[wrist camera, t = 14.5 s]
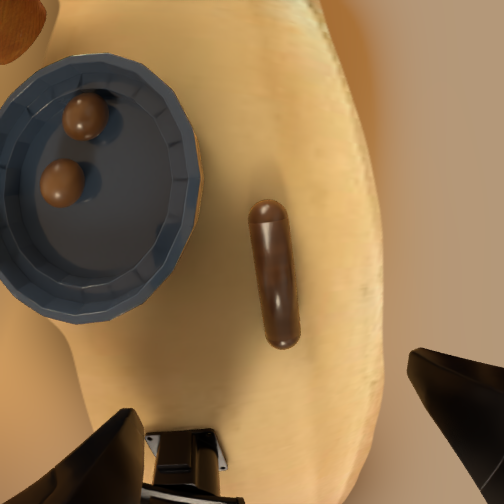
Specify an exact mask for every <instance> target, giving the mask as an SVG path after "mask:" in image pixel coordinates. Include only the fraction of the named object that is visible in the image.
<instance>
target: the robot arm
mask: <svg viewBox="0 0 504 504" xmlns="http://www.w3.org/2000/svg"><path fill="white" fill-rule="evenodd" d="M407 375H408V378H409V379H410V381H411V383H412V385H413V387H414V388H415V390H416V392H417V394H418V396H419V397H420V399H421V401H422V403H423V405H424V407H425V408H426V410H427V411H428V413H429V414H430V416H431V417H432V418H433V420H434V422H435V423H436V424H437V426H438V427H439V429H440V430H441V432H442V433H443V435H444V436H445V438H446V439H447V440H448V442H449V443H450V445H451V447H452V448H453V449H454V451H455V453H456V454H457V456H458V457H459V459H460V460H461V461H462V463H463V465H464V466H465V468H466V469H467V471H468V473H469V474H470V475H471V477H472V479H473V480H474V482H475V484H476V485H477V487H478V488H479V490H481V491H480V492H481V494H482V495H483V497H484V498H485V500H486V502H487V503H488V504H504V368H502V367H498V366H493V365H489V364H485V363H481V362H476V361H472V360H468V359H464V358H460V357H456V356H452V355H448V354H444V353H440V352H436V351H432V350H429V349H425V348H418V349H415V350H412V351H411V352H410V353H409V359H408V366H407ZM208 433H211V434H208ZM150 437H151V438H150ZM145 440H146V442H147V444H148V445H149V447H150V449H151V451H152V452H153V454H154V456H155V457H156V461H155V468H154V474H153V481H152V485H151V484H147V483H143V473H144V427H143V425H142V423H141V421H140V419H139V417H138V415H137V413H136V411H135V410H134V409H133V408H122V409H120V410H119V411H118V412H117V413H116V414H115V415H113V416H112V417H111V418H110V419H109V420H108V421H107V422H106V423H104V424H103V425H102V426H101V427H100V428H99V429H98V430H97V431H95V432H94V433H93V434H92V435H91V436H90V437H89V438H87V439H86V440H85V441H84V442H83V443H82V444H81V445H80V446H79V447H77V448H76V449H75V450H74V451H72V452H71V453H70V454H69V455H68V456H67V457H65V459H63V460H62V461H61V462H60V463H58V464H57V465H56V466H55V468H53V469H51V470H50V471H49V472H48V473H47V474H45V475H44V476H43V477H42V478H40V479H39V480H38V481H36V482H35V483H34V484H32V485H31V486H29V487H28V488H26V489H25V490H24V491H22V492H20V493H19V494H17V495H16V496H14V497H12V498H11V499H9V500H8V501H6V502H5V503H3V504H245V502H244V499H243V498H242V497H236V498H230V497H220V481H219V471H225V470H227V469H228V464H227V462H226V459H225V457H224V454H223V452H222V449H221V446H220V444H219V441H218V438H217V436H216V433H215V431H214V430H213V429H211V428H206V429H197V430H185V431H171V432H149V433H146V434H145Z"/></svg>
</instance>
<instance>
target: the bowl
mask: <svg viewBox="0 0 504 504" xmlns="http://www.w3.org/2000/svg"><path fill="white" fill-rule="evenodd" d="M82 93H95V94H97V95H99V96H101V97H102V98H103V99H104V100H105V101H106V103H107V105H108V109H109V119H108V122H107V125H106V127H105V128H104V130H103V131H102V132H101V133H100V134H99V135H98V136H96V137H95V138H93V139H91V140H87V141H78V140H74V139H72V138H71V137H69V136H68V135H67V134H66V132H65V131H64V129H63V125H62V115H63V111H64V109H65V107H66V105H67V104H68V102H69V101H70V100H71V99H73V98H74V97H75V96H77V95H79V94H82ZM62 158H67V159H71V160H73V161H75V162H76V163H77V164H79V166H80V167H81V168H82V170H83V173H84V176H85V186H84V190H83V193H82V195H81V196H80V198H79V199H78V200H77V201H76V202H75V203H74V204H72V205H70V206H68V207H65V208H57V207H53V206H51V205H50V204H48V203H47V202H46V201H45V200H44V198H43V196H42V194H41V191H40V179H41V175H42V173H43V171H44V169H45V168H46V167H47V166H48V165H49V164H50V163H51V162H53V161H55V160H57V159H62ZM203 185H204V175H203V169H202V162H201V155H200V149H199V142H198V139H197V137H196V135H195V132H194V130H193V128H192V126H191V124H190V122H189V120H188V118H187V116H186V114H185V112H184V110H183V108H182V106H181V105H180V103H179V101H178V99H177V97H176V95H175V93H174V91H173V90H172V89H171V88H170V87H169V86H168V85H166V84H165V83H164V82H163V81H162V80H161V79H160V78H158V77H157V76H156V75H155V74H154V73H153V72H152V71H150V70H149V69H148V68H147V67H146V66H145V65H143V64H141V63H138V62H135V61H132V60H129V59H126V58H123V57H120V56H117V55H114V54H110V53H95V54H82V55H72V56H69V57H66V58H64V59H62V60H59V61H57V62H55V63H53V64H51V65H48V66H46V67H44V68H42V69H40V70H39V71H37V72H35V73H34V74H33V75H32V76H31V77H29V78H28V79H27V80H26V81H25V82H24V83H23V84H21V86H19V87H18V88H17V89H16V90H15V91H14V92H13V93H12V94H11V95H10V96H9V97H8V98H7V100H6V101H5V103H4V104H3V106H2V107H1V109H0V280H1V281H2V282H3V284H4V285H5V286H6V287H7V289H8V290H9V291H10V292H11V293H12V295H13V296H14V297H15V298H16V299H18V300H19V301H21V302H22V303H24V304H25V305H27V306H28V307H30V308H31V309H33V310H34V311H36V312H37V313H39V314H40V315H42V316H44V317H48V318H52V319H55V320H59V321H63V322H67V323H71V324H85V323H94V322H103V321H110V320H112V319H114V318H116V317H118V316H120V315H122V314H124V313H126V312H128V311H130V310H132V309H133V308H135V307H137V306H139V305H141V304H143V303H144V302H145V301H146V300H147V299H148V298H149V297H150V296H151V295H152V294H153V293H154V292H155V291H156V289H157V288H158V287H159V286H160V285H161V284H162V283H163V282H164V281H165V280H166V279H167V278H168V276H169V275H170V274H171V273H172V272H173V270H174V269H175V267H176V265H177V263H178V261H179V259H180V257H181V255H182V253H183V251H184V249H185V247H186V245H187V243H188V240H189V238H190V236H191V234H192V232H193V230H194V228H195V226H196V224H197V222H198V219H199V212H200V205H201V198H202V192H203Z"/></svg>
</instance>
